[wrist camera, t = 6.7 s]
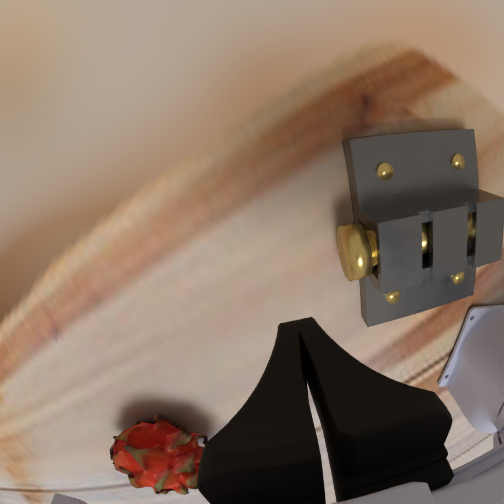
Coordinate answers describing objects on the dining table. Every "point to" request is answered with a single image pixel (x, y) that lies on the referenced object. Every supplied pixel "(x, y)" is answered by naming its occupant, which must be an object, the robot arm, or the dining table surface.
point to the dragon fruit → (158, 456)
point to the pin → (369, 248)
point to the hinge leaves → (421, 219)
